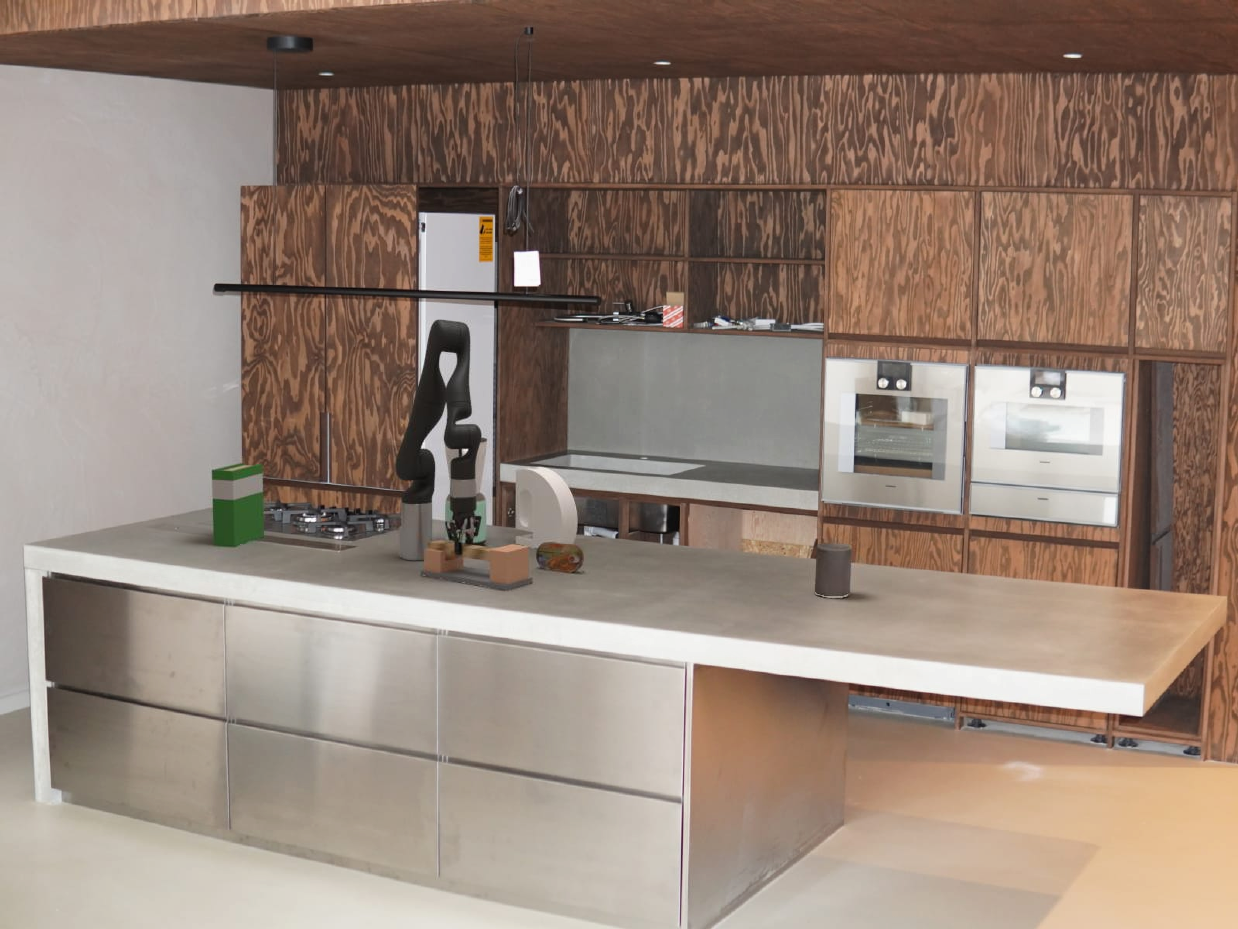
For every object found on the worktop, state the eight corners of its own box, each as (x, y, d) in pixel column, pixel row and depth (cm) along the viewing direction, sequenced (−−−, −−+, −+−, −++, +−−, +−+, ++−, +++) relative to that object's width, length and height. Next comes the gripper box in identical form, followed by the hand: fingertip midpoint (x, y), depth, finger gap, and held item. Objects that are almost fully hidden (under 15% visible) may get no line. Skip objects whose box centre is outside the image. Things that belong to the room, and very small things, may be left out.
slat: (427, 552, 407) (427, 541, 406) (436, 549, 410) (436, 539, 410) (493, 561, 394) (493, 551, 393) (501, 559, 397) (501, 549, 397)
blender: (443, 540, 455) (443, 433, 450) (485, 540, 457) (485, 432, 452) (445, 552, 436) (445, 440, 431) (489, 551, 439) (489, 440, 434)
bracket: (530, 542, 455) (530, 465, 452) (577, 551, 441) (577, 471, 438) (515, 545, 450) (514, 467, 447) (562, 554, 436) (562, 474, 433)
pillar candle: (807, 592, 390) (809, 539, 387) (838, 589, 393) (840, 536, 391) (826, 600, 381) (828, 546, 379) (857, 597, 385) (859, 543, 382)
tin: (535, 568, 415) (535, 540, 414) (540, 566, 418) (541, 539, 417) (579, 574, 408) (580, 546, 407) (585, 572, 411) (585, 544, 410)
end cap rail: (420, 575, 404) (420, 539, 402) (448, 568, 414) (448, 533, 412) (505, 590, 387) (506, 553, 385) (532, 583, 397) (532, 546, 395)
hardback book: (243, 535, 459) (241, 462, 456) (263, 537, 457) (262, 463, 454) (213, 545, 442) (211, 470, 439) (234, 547, 440) (232, 471, 437)
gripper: (468, 489, 408) (469, 548, 410) (436, 496, 396) (437, 556, 398) (489, 492, 403) (489, 551, 406) (457, 498, 392) (458, 559, 394)
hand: (463, 553), depth 402 cm, fingers closed on slat, 4 cm apart
